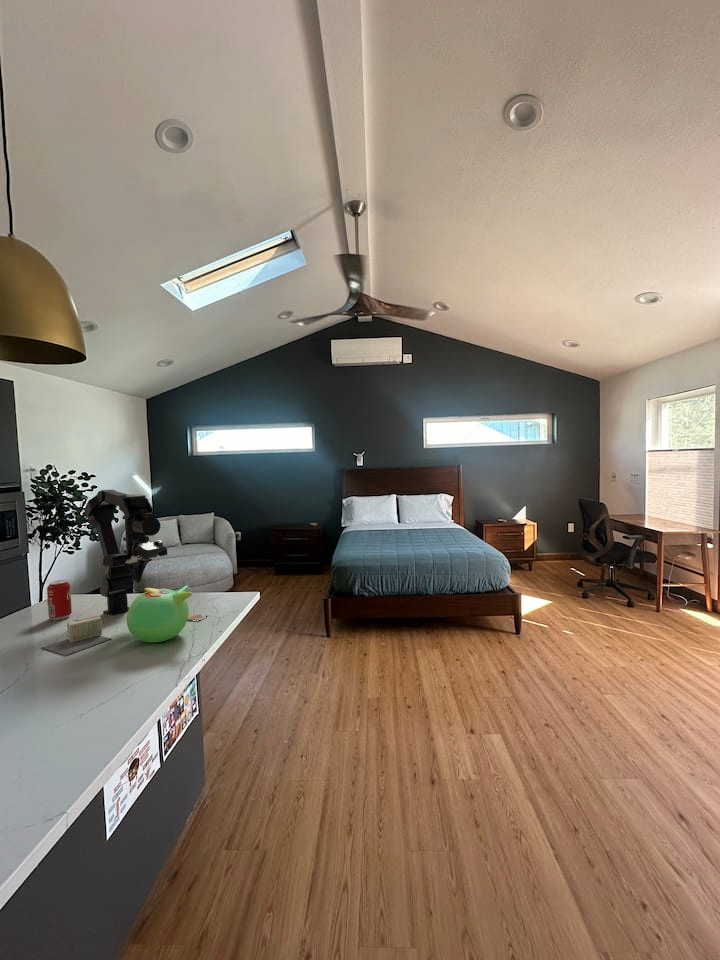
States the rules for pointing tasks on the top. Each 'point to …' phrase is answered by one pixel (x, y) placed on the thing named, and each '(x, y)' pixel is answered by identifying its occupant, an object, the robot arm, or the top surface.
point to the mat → (74, 645)
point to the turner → (195, 617)
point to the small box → (84, 628)
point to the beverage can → (59, 599)
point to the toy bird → (158, 614)
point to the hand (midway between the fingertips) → (138, 582)
